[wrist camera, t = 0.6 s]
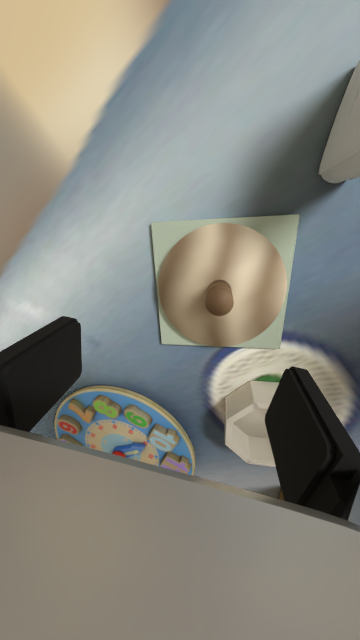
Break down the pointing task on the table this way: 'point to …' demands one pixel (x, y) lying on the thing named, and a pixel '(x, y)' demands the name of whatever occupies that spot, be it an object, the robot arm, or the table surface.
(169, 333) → the mat
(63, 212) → the table surface
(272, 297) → the lid
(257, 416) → the bowl
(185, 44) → the table surface
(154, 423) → the shape sorting clock
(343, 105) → the photo printer
